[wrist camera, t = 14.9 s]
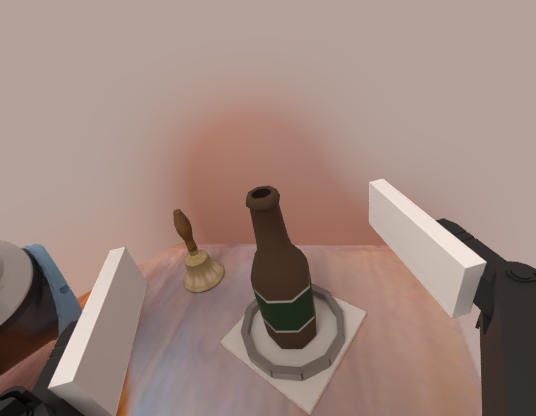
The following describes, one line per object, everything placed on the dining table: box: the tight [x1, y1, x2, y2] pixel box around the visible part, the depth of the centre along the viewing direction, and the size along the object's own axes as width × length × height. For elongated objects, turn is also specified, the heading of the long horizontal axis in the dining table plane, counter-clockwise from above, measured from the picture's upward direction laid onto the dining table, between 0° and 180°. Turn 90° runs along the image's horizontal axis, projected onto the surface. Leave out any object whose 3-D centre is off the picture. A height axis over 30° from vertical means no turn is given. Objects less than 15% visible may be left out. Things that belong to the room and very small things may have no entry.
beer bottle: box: [246, 186, 317, 349], centre depth 36 cm, size 8×8×24 cm
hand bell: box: [173, 209, 224, 293], centre depth 52 cm, size 8×8×16 cm
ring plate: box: [220, 284, 367, 415], centre depth 42 cm, size 16×16×2 cm
